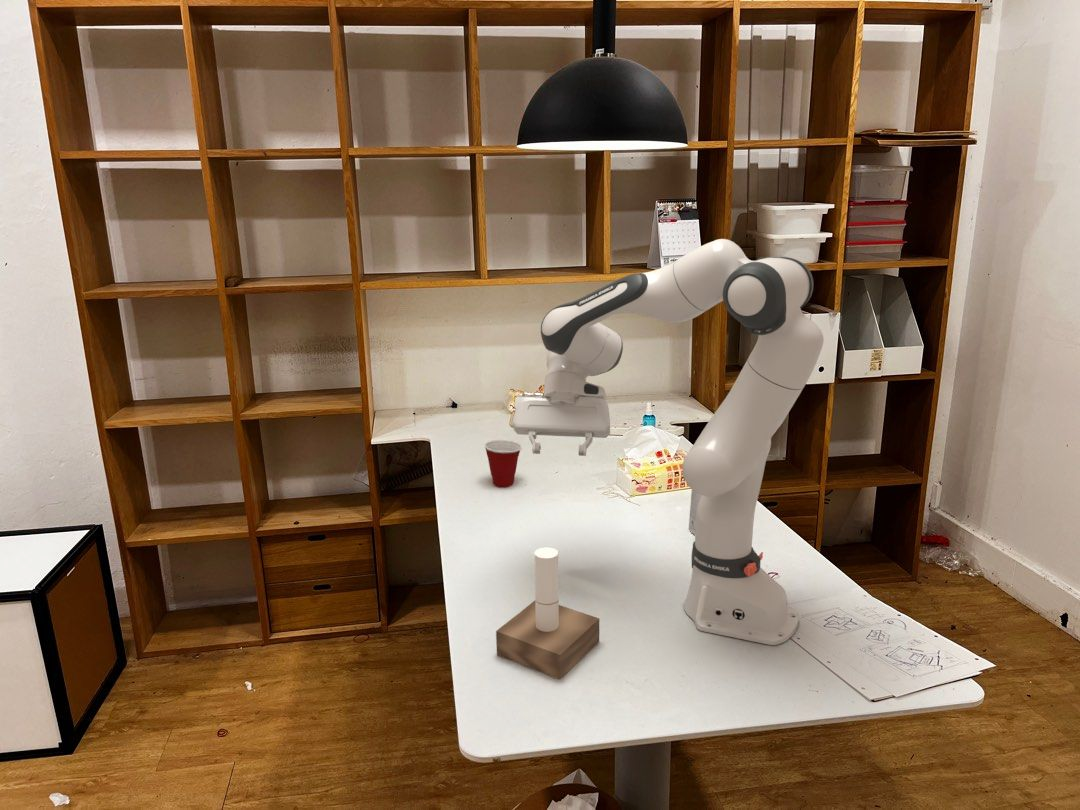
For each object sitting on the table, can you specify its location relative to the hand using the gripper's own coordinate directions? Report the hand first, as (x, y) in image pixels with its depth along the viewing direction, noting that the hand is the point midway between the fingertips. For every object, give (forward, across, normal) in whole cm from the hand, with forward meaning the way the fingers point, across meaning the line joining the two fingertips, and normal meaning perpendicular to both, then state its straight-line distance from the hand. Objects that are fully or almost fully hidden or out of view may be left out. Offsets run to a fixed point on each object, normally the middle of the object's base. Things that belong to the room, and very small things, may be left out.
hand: (559, 453), depth 163 cm
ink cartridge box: (+2, +33, +43) cm, 54 cm away
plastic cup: (-18, -22, +63) cm, 69 cm away
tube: (+34, 0, +3) cm, 34 cm away
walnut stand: (+37, 0, +6) cm, 38 cm away
